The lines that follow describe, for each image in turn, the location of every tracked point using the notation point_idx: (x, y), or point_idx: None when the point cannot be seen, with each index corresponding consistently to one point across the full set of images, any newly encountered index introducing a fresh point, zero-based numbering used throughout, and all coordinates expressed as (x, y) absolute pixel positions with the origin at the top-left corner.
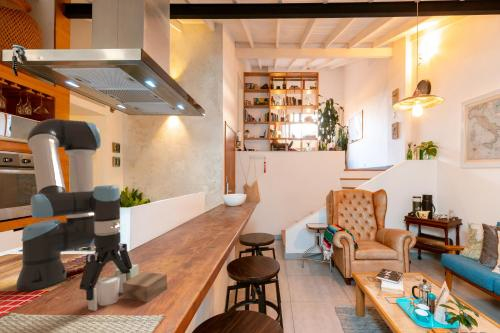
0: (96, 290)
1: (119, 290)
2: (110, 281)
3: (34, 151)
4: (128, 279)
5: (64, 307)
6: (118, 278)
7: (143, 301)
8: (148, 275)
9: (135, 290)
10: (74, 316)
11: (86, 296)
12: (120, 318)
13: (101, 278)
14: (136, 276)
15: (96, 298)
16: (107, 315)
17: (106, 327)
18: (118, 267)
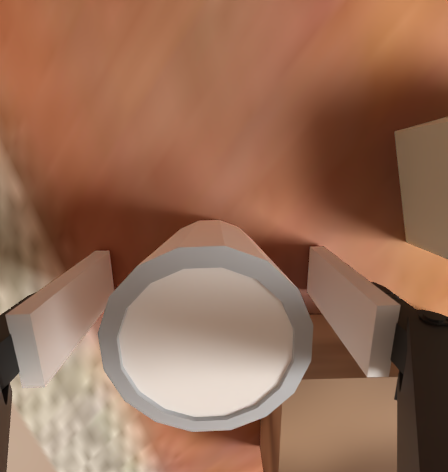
0: (54, 370)
1: (314, 256)
2: (186, 394)
3: None
4: (442, 240)
5: (51, 63)
6: (260, 411)
7: (260, 429)
8: None
9: (271, 437)
10: (23, 235)
11: (16, 306)
12: (113, 439)
13: (211, 255)
14: None
15: (83, 331)
16: (106, 376)
17: (43, 439)
18: (408, 380)
